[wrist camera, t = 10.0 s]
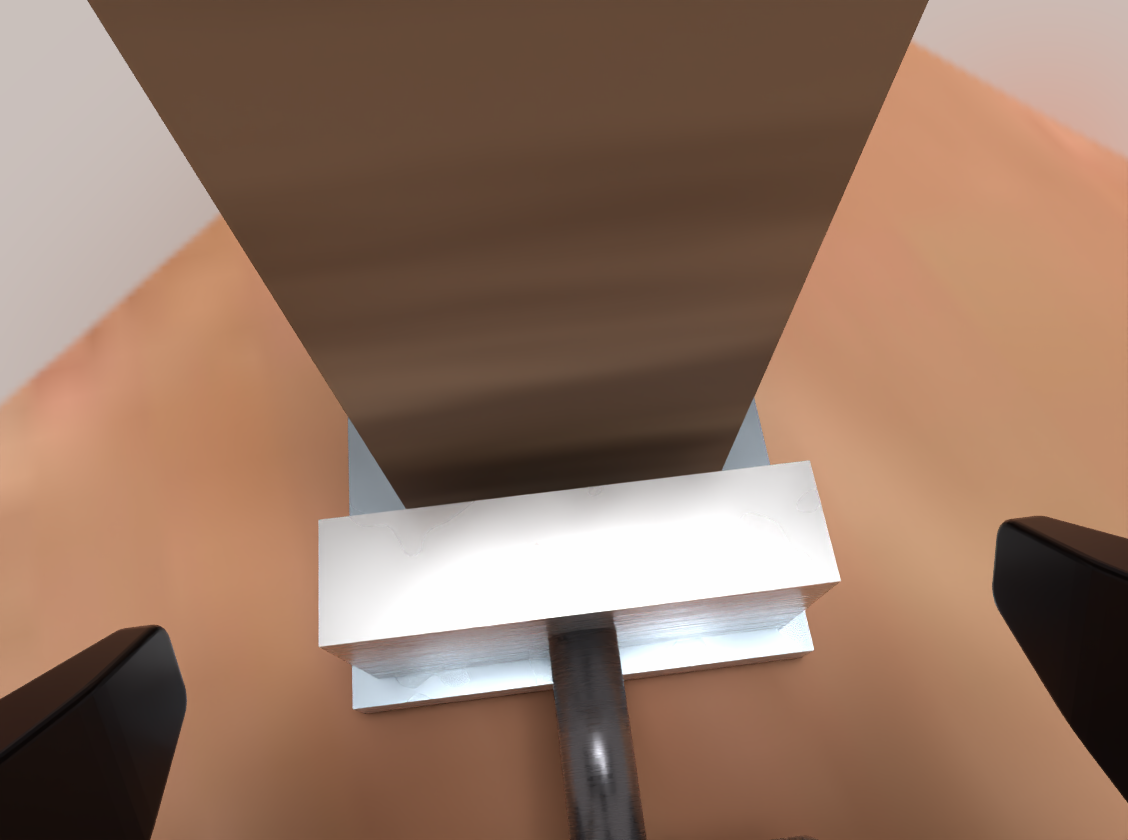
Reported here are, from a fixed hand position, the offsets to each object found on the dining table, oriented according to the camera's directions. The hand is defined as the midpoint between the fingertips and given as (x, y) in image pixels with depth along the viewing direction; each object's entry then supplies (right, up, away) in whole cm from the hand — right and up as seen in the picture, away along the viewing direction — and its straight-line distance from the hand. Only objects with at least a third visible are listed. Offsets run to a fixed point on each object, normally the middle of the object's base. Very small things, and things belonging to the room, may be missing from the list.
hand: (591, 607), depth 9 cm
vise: (0, -1, +9) cm, 9 cm away
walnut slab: (0, +2, +9) cm, 9 cm away
